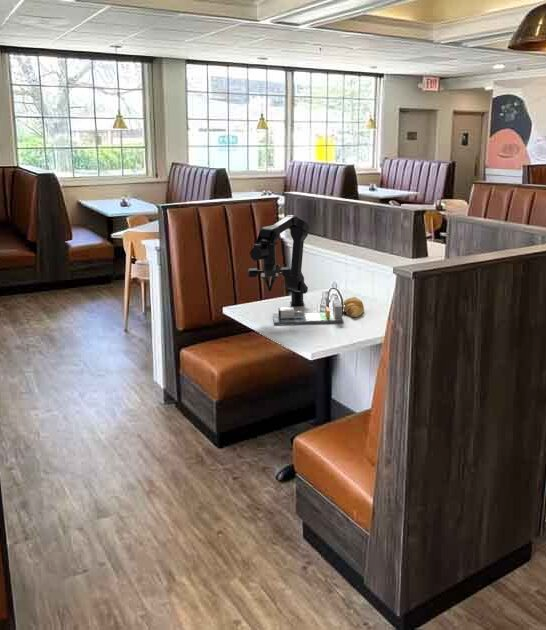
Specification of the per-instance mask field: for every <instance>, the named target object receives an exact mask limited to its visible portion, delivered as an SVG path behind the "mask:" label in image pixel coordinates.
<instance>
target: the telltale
mask: <svg viewBox="0 0 546 630" xmlns="http://www.w3.org/2000/svg"><path fill="white" fill-rule="evenodd" d="M324 308H325V311H324V312H325V314H326V316H327V318H330V312H331V311H330V308H329V306H325V307H324Z"/></svg>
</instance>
